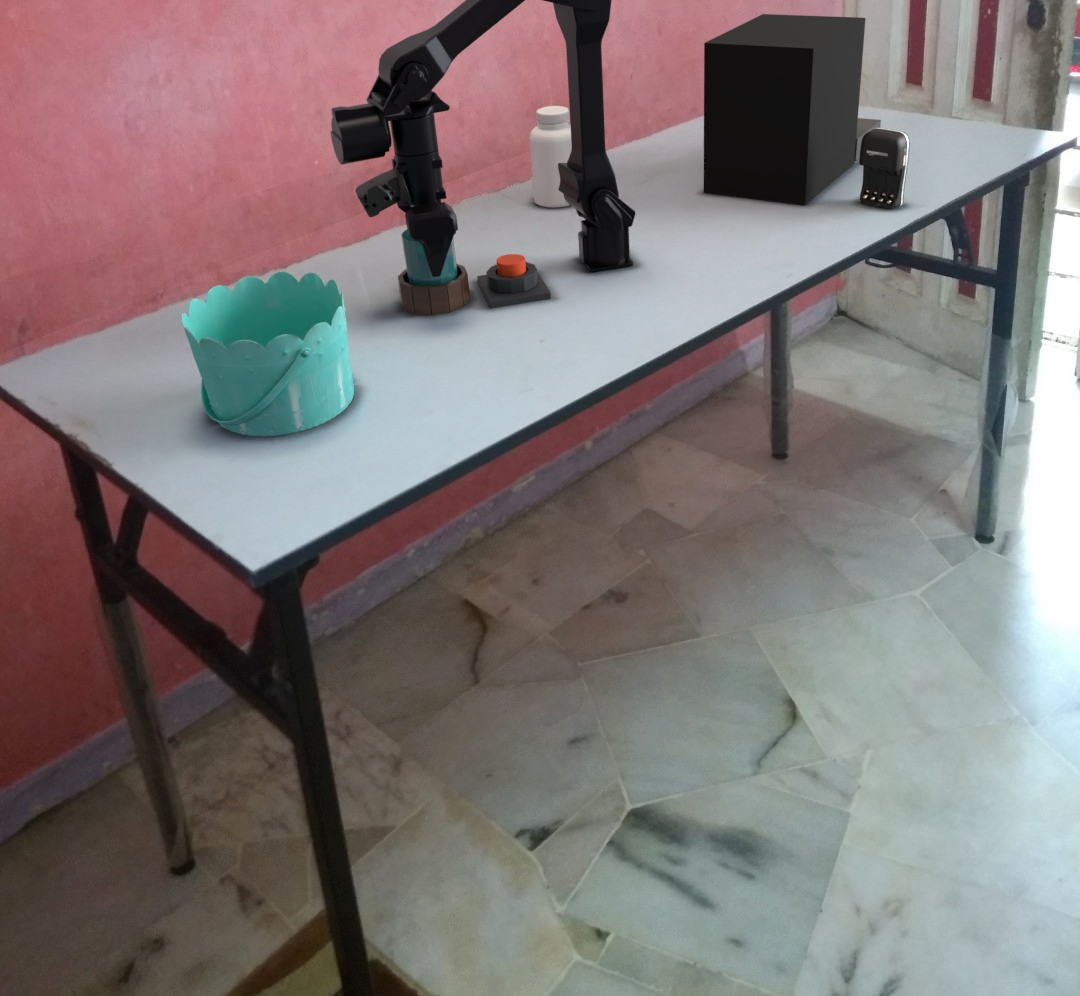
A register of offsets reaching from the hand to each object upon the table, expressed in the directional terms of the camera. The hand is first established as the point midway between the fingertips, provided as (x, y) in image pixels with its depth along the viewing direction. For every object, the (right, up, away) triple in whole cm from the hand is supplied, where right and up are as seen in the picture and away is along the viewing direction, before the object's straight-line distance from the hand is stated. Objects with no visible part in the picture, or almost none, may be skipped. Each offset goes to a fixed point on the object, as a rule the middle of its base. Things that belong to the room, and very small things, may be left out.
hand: (431, 264), depth 157 cm
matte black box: (+59, +25, +41) cm, 76 cm away
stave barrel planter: (0, -5, +3) cm, 6 cm away
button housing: (+11, -3, +4) cm, 12 cm away
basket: (-16, -21, -20) cm, 33 cm away
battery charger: (+68, +14, +23) cm, 73 cm away
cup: (0, -5, +3) cm, 6 cm away
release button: (+11, -1, +3) cm, 11 cm away
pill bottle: (+18, +18, +36) cm, 44 cm away
